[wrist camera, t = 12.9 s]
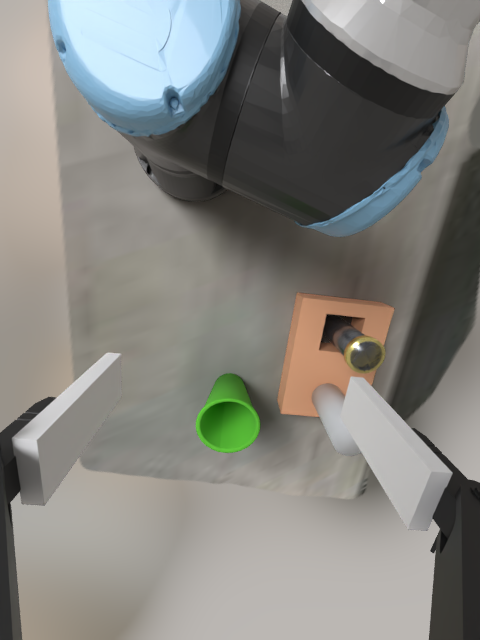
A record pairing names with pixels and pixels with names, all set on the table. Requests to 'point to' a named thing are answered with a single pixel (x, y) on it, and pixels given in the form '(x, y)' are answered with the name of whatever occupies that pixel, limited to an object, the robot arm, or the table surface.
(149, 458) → the table surface
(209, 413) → the cup
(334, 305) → the peach square-hole plate
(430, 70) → the robot arm
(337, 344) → the pin
